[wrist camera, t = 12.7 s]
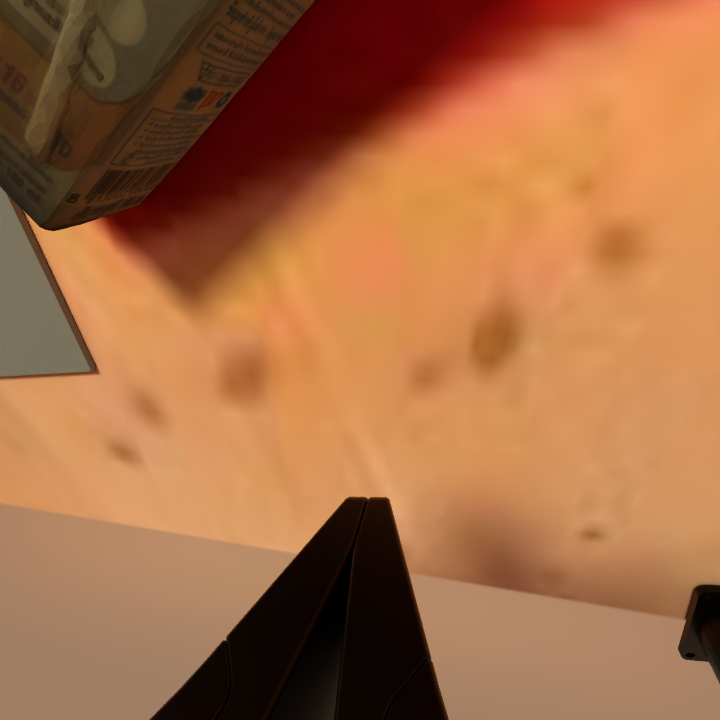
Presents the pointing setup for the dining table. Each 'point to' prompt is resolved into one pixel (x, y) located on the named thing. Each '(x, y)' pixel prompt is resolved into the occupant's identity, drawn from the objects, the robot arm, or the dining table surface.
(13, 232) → the strip
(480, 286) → the dining table surface
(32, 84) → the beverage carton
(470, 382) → the dining table surface
